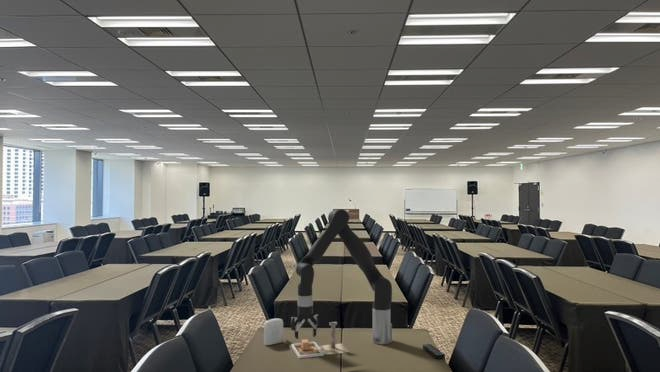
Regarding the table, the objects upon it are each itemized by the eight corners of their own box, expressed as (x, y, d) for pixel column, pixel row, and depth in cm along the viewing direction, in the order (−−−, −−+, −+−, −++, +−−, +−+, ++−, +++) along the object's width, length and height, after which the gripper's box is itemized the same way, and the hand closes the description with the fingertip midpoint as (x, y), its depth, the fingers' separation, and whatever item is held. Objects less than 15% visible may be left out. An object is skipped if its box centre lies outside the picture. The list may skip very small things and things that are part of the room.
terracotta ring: (312, 346, 204) (312, 338, 204) (319, 356, 192) (319, 347, 192) (295, 348, 201) (295, 340, 201) (301, 358, 189) (301, 349, 189)
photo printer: (280, 340, 215) (280, 316, 215) (284, 342, 211) (284, 318, 212) (262, 343, 209) (262, 319, 210) (265, 346, 206) (266, 321, 206)
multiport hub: (430, 348, 205) (430, 343, 205) (445, 359, 191) (445, 354, 191) (422, 349, 204) (422, 344, 204) (436, 360, 190) (436, 355, 190)
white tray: (314, 346, 206) (314, 341, 206) (324, 358, 190) (324, 353, 190) (291, 349, 202) (291, 344, 202) (298, 361, 187) (298, 356, 187)
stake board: (341, 346, 206) (341, 318, 207) (350, 355, 195) (350, 325, 195) (318, 348, 203) (318, 320, 203) (325, 357, 191) (325, 328, 192)
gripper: (317, 301, 207) (317, 333, 207) (289, 303, 203) (289, 336, 202) (321, 304, 200) (321, 338, 200) (292, 307, 196) (293, 341, 195)
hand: (305, 337), depth 201 cm, fingers open, 8 cm apart
